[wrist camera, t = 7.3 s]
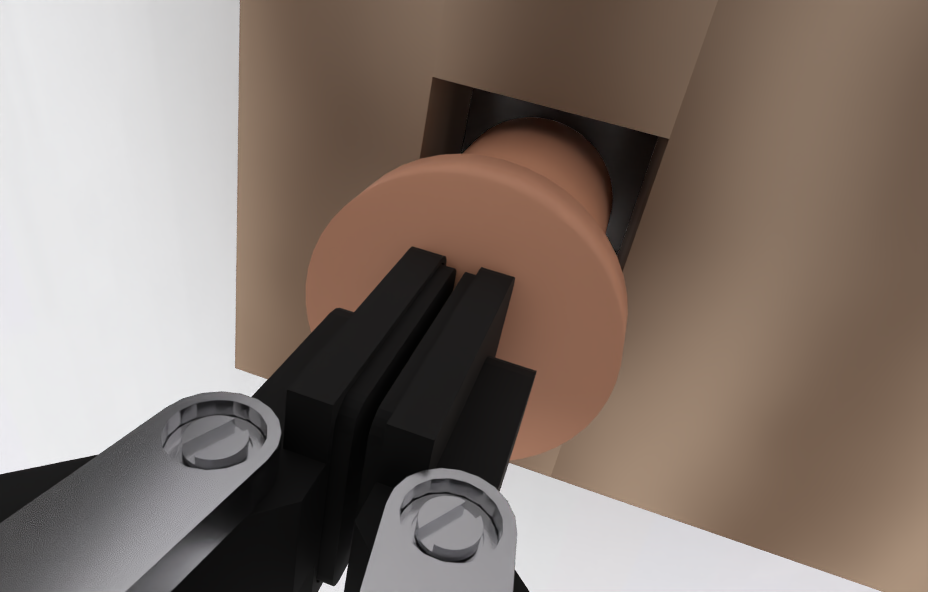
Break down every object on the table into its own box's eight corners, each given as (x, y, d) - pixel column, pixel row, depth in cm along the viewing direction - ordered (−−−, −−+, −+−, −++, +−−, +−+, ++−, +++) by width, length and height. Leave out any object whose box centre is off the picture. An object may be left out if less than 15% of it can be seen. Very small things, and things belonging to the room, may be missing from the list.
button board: (1953, 137, 12) (2486, 222, 8) (1290, 625, 19) (1427, 779, 15) (336, -194, 16) (242, -229, 12) (300, 303, 23) (235, 368, 20)
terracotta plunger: (676, 118, 15) (673, 232, 9) (606, 318, 17) (570, 500, 12) (448, 60, 15) (317, 131, 10) (414, 260, 18) (296, 405, 12)
